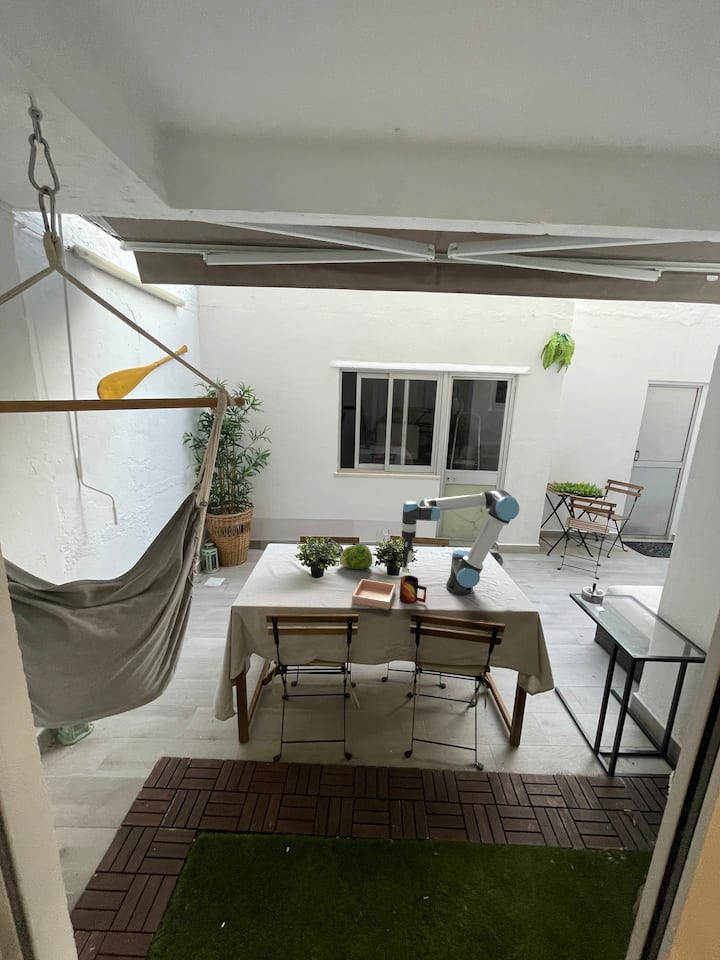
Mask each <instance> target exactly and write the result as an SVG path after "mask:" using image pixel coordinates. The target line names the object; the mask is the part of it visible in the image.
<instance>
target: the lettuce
mask: <svg viewBox="0 0 720 960" xmlns="http://www.w3.org/2000/svg"><path fill="white" fill-rule="evenodd" d="M340 555H341V556H340ZM340 555H339V557H340V561H339V560H338V563H339V565H340V566H343V567H345V568H348V569H352V570H364V569H367V568H371V566H372V565H373V556H372V555H373V554H372V551H371V549H370V548H369V547H368V546H367V545H366V544H355V545H351V546H348V547H346V548H345V549H343V550H342V552H341V554H340Z"/></svg>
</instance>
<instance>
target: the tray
mask: <svg viewBox="0 0 720 960" xmlns="http://www.w3.org/2000/svg"><path fill="white" fill-rule="evenodd" d="M396 586H397V585H396V584H395V583H389V582H384V581H383V582H382V581H376V580H372V579H371V580H370V579H364V578H361V580H360V581H359V583H358V585H357V586H356V588H355V589H354V592H353V594H352V595H351V604H352V605H356V606H363V607H367V606H368V608H373V607H375V608H374V609H379V610H385V611H390V607H391V605H392V602H393V599H394V597H395V595H394V594H396V588H397V587H396Z"/></svg>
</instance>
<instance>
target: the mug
mask: <svg viewBox="0 0 720 960" xmlns="http://www.w3.org/2000/svg"><path fill="white" fill-rule="evenodd" d="M418 590H421V591H423V598H421V597H418ZM399 599H400V600H399ZM398 600H399V601H400V602H401V603H403V604H406V605H411V604H415V603H417V602H421V603H424V604H425V603H426V600H427V586H422V585H419V579H418V577H416V576H414V575H409V574H408V575H407V574H406V575H402V576H401V577H400V585H399V596H398Z"/></svg>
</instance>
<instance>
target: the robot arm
mask: <svg viewBox="0 0 720 960" xmlns="http://www.w3.org/2000/svg"><path fill="white" fill-rule="evenodd" d="M479 508H480V509H481V508H482V509H484V510H487V509H489V510H488V512H487V516H488V518H487V519H486V521H485V523H484V525H483V526H482V528H481V530H480V532H479V533H478V535H477V538H476V539H475V541H474V543H473V544H472V546H471V548H470V550H469V551H467V550H454V551H453V552H452V555H451V565H450V575H449V577H448V580H446V585H445V588H446V590H447V591H448V592H450V593H451V592H452V594H454V595H457V594H459V595H458V596H467V595H466V594H469V595H471V594H472V593H473V592H474V587H476V586H477V585H478V584H479V583H480V580H481V576H480V574H481V572H482V571H483V569H484V565H483V563H484V561H485V559H486V558H487V556H488V554H489V552H490V550H491V549H492V547H493V546H494V543H495V542H496V540H497V538H498V536H499V535H500V533H501V531H502V530H503V527H504V526H506V525H509V523H510V522H511V520H514V519H515V518H517V516H518V515H519V512H520V506H519V502H518V501H517V499H516V498H515V497H513V496H512V495H511V494H510V493H509V492H507V491H506V490H502V489H493V490H485V491H482V492H480V493H476V494H468V495H467V494H465V495H458V496H450V497H441V498H431V499H430V498H428V497H425V498H422V499H421V500H420V502H419V505H418V502H417V501H412V500H407V501H405V502H404V503H403V505H402V522H401V524H400V525H401V526H402V527H401V537H402V538H403V539H404V541H403V550H402V557H401V558H402V559H401V560H400V561H401V562H402V565H401V566H402V567H401V572H402V573H406V574H407V573H408V565H409V563H412V559H413V558H412V557H413V551H414V546H413V540H414V539H415V538H416V535H417V522H418V521H423V522H424V521H426V522H439V521H440V520H441V513H442V512H443V513H444V512H450V511H451V512H452V511H461V510H469V509H470V510H471V509H479ZM472 591H473V592H472ZM471 592H472V593H471ZM470 593H471V594H470Z"/></svg>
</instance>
